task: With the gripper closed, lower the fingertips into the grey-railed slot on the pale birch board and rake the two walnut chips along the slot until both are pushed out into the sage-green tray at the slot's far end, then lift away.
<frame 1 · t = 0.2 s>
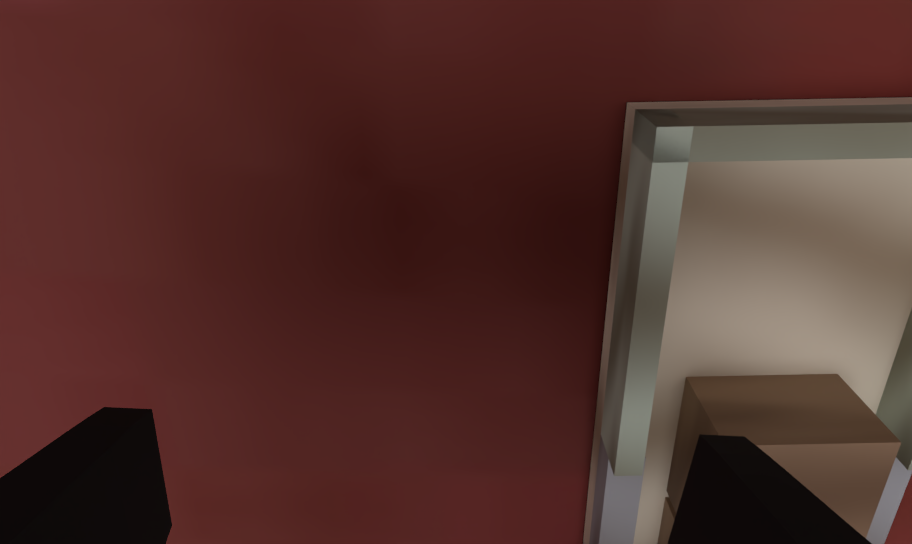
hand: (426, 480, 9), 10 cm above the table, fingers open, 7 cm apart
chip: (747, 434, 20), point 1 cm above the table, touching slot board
slot board: (732, 439, 21), on the table
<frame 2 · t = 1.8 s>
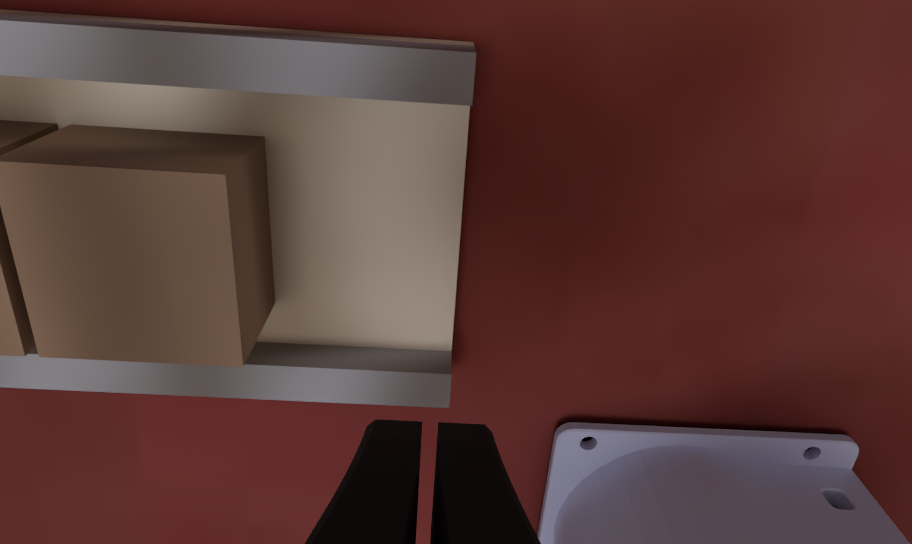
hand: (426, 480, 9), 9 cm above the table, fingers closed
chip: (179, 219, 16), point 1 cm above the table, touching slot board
slot board: (36, 199, 17), on the table
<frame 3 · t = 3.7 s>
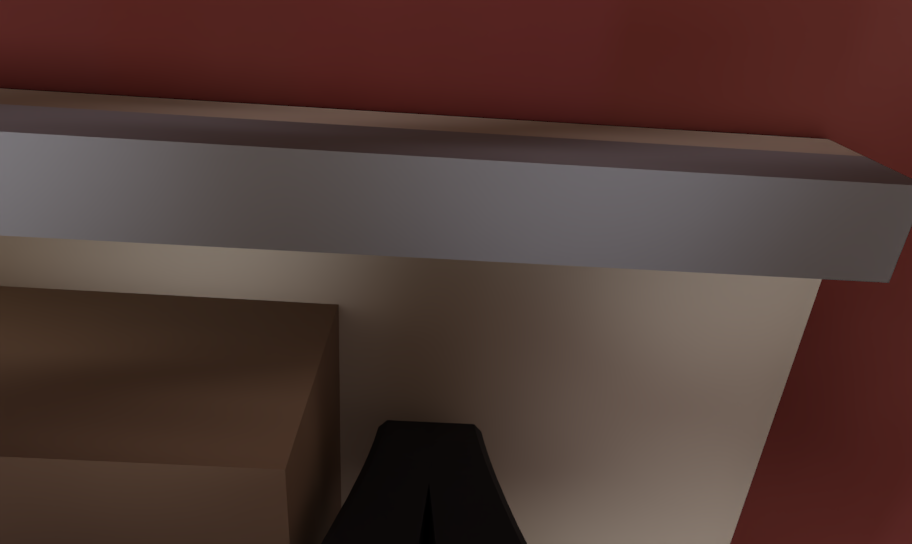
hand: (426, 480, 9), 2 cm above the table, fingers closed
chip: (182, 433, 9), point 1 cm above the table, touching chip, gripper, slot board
slot board: (30, 393, 10), on the table
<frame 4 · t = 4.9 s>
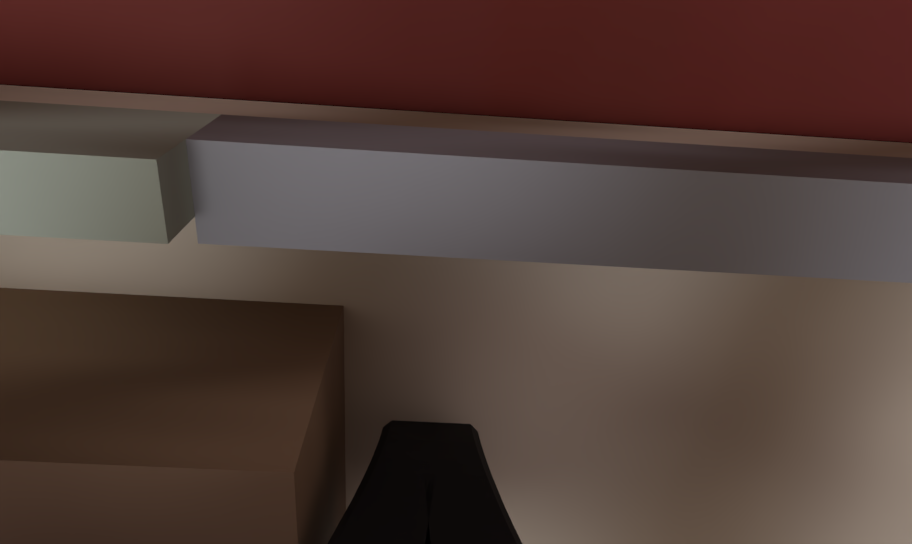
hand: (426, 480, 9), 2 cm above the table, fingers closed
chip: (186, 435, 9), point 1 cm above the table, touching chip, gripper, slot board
slot board: (330, 405, 10), on the table
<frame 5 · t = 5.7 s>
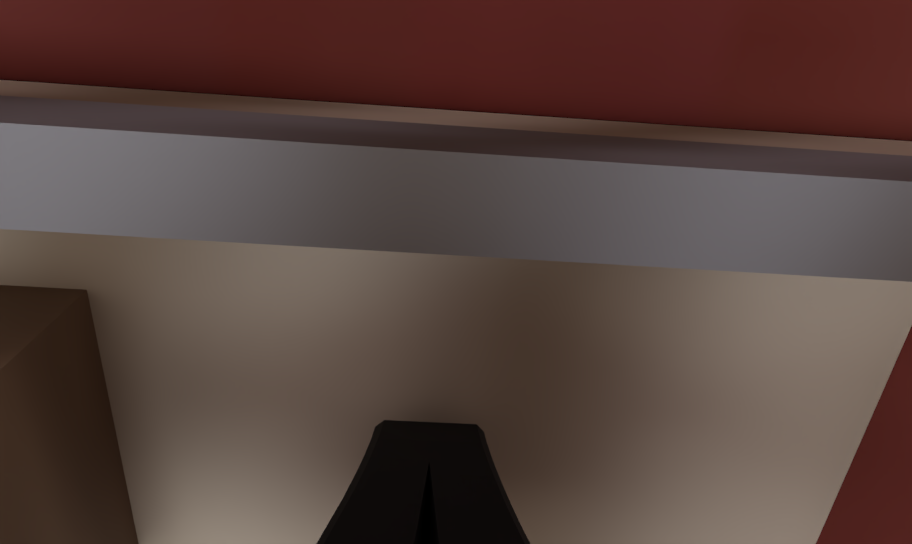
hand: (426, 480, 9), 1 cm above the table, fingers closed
slot board: (116, 394, 10), on the table
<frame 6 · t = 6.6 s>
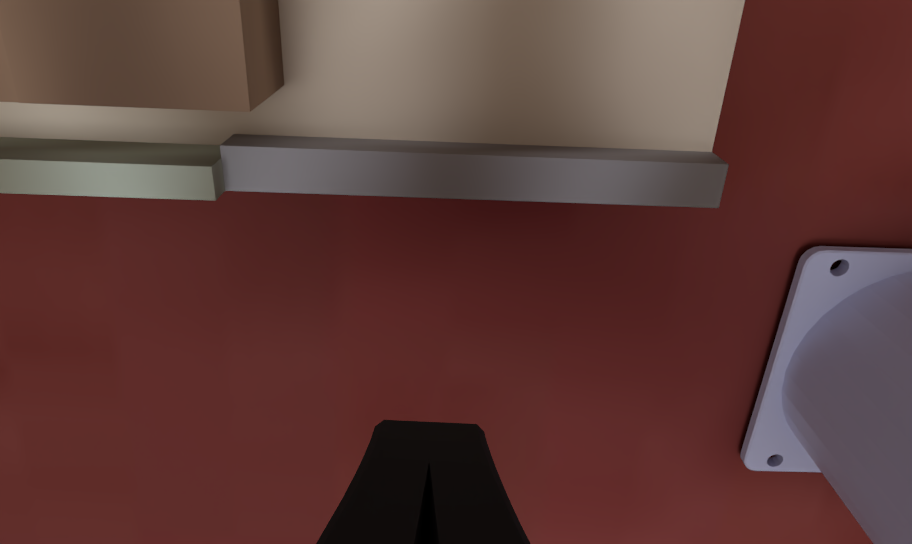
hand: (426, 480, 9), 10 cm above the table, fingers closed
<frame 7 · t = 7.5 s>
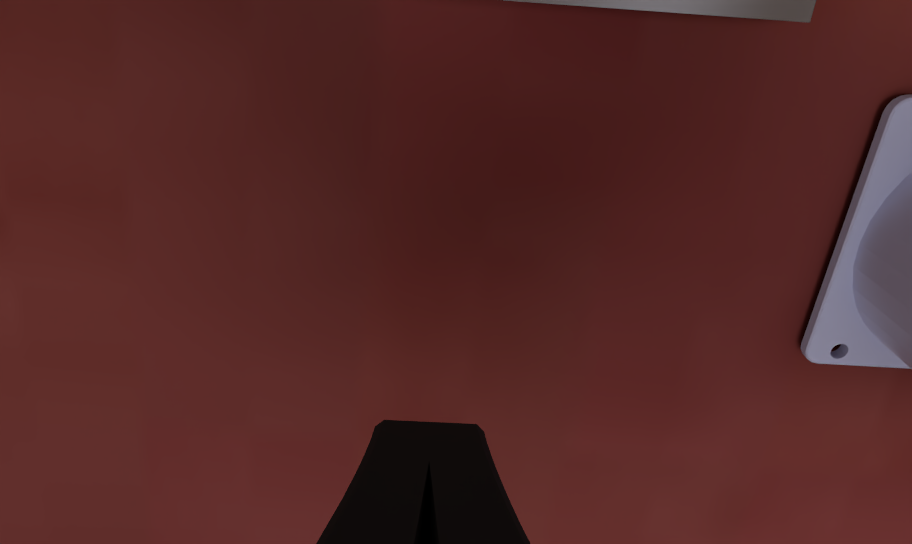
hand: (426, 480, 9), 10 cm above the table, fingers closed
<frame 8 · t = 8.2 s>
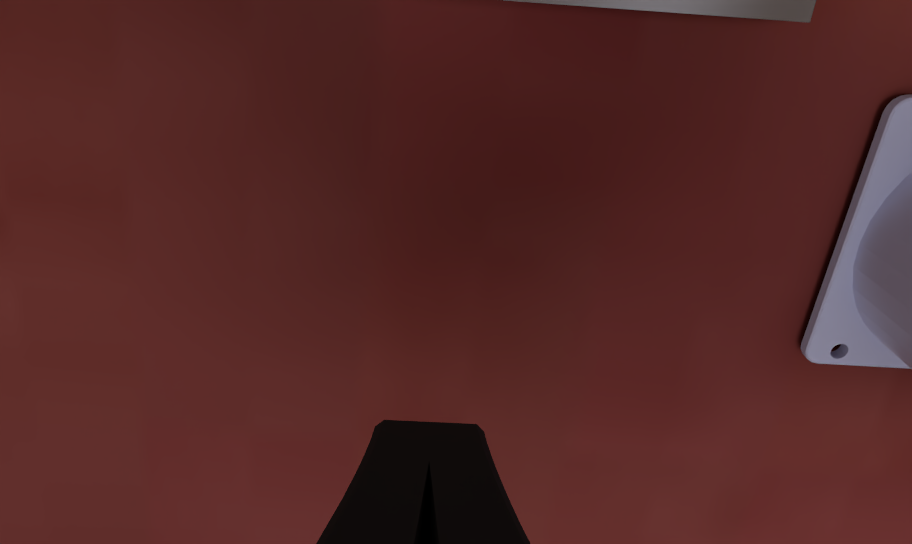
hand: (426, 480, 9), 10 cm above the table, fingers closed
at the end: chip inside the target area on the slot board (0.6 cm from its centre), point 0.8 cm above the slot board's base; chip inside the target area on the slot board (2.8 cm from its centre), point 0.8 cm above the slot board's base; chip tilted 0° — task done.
